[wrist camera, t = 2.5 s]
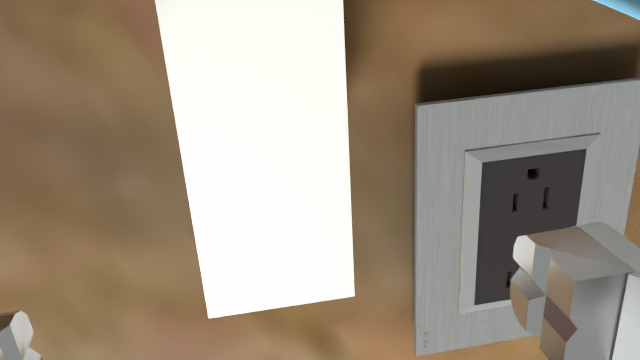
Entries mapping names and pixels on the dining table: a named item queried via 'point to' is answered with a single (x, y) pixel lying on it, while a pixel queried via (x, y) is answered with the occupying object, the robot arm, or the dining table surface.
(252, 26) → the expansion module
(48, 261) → the dining table surface
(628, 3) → the chair
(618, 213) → the electrical outlet
